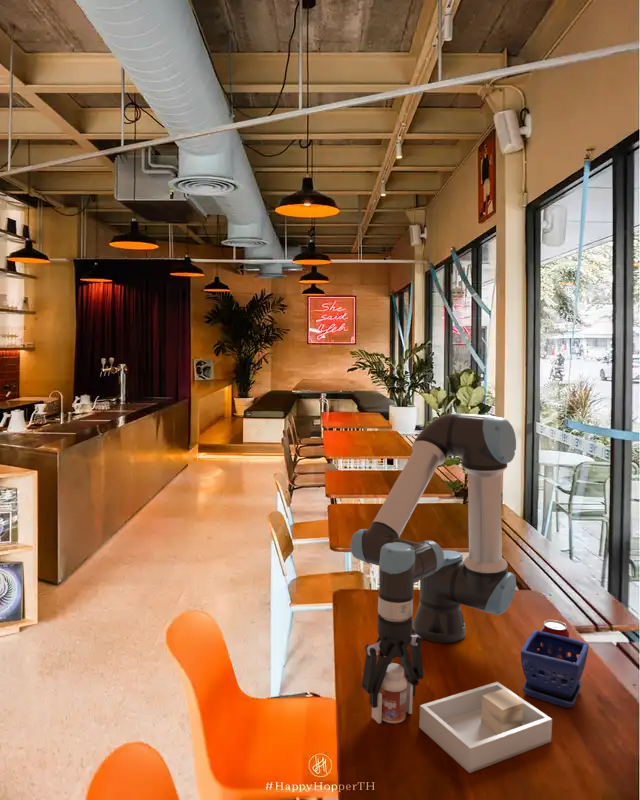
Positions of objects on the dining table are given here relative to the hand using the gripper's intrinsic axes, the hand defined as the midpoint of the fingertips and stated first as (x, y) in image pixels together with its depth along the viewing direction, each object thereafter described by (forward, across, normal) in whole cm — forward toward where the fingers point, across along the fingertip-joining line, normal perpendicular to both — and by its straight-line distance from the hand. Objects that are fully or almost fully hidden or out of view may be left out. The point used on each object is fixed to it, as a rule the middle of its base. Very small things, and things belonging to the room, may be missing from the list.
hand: (391, 714), depth 136 cm
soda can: (0, +49, -1) cm, 49 cm away
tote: (0, +14, -14) cm, 20 cm away
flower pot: (+1, +40, -9) cm, 41 cm away
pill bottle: (+1, 0, 0) cm, 1 cm away
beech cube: (0, +19, -14) cm, 24 cm away
